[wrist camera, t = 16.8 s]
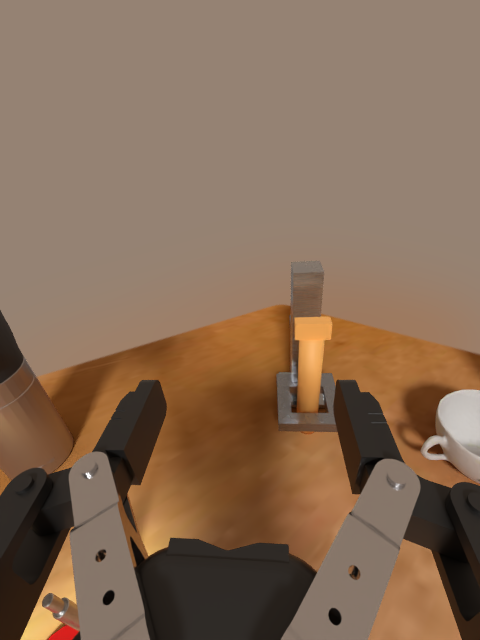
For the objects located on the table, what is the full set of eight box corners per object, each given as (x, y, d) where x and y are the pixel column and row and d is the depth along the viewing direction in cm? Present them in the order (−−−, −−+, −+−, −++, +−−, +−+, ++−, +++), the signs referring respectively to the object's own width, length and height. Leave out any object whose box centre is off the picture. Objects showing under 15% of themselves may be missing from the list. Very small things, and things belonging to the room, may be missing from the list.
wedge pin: (293, 433, 45) (296, 328, 35) (291, 417, 48) (293, 314, 38) (322, 434, 45) (333, 327, 34) (318, 417, 48) (328, 313, 37)
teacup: (487, 421, 45) (508, 383, 40) (569, 509, 34) (610, 470, 30) (389, 430, 45) (400, 393, 40) (441, 521, 34) (463, 484, 30)
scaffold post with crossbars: (341, 451, 42) (365, 309, 30) (279, 449, 43) (276, 312, 31) (314, 338, 66) (321, 232, 53) (274, 339, 67) (272, 235, 54)
